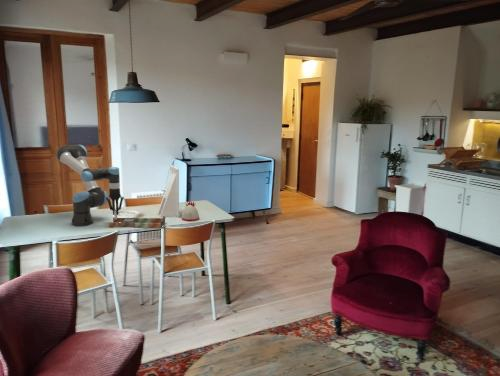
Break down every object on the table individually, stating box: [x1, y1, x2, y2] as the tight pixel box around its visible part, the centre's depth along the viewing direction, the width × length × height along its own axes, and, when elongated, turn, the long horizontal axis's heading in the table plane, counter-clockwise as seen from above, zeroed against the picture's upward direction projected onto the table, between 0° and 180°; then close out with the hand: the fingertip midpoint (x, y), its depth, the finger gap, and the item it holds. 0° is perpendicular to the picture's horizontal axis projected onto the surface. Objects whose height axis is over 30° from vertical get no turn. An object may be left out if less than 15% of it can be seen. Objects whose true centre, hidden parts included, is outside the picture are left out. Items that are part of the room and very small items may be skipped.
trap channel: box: [107, 216, 166, 229], centre depth 307 cm, size 39×14×5 cm, turn 94°
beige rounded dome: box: [181, 200, 200, 222], centre depth 327 cm, size 14×14×15 cm
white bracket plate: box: [156, 165, 180, 218], centre depth 334 cm, size 20×14×40 cm
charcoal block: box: [123, 219, 135, 223], centre depth 307 cm, size 7×7×4 cm
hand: (115, 218), depth 306 cm, fingers closed
